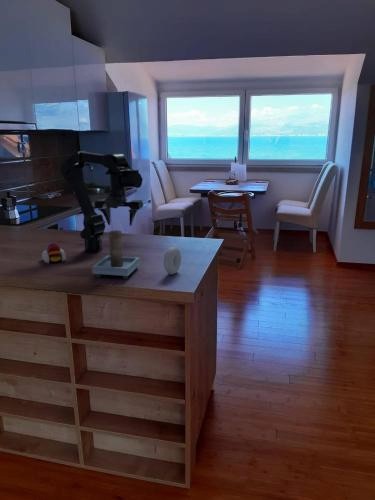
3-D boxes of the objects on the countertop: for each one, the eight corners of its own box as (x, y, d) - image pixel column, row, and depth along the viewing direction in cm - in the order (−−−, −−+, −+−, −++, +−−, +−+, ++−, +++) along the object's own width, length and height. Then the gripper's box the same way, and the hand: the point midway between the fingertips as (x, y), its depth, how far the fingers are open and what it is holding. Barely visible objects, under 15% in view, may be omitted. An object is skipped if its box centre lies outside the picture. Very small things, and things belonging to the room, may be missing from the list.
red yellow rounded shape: (45, 265, 149) (43, 247, 147) (41, 259, 157) (39, 241, 155) (67, 262, 153) (66, 244, 151) (63, 256, 161) (61, 239, 159)
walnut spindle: (108, 265, 139) (106, 232, 136) (117, 262, 143) (115, 229, 139) (116, 268, 137) (114, 234, 133) (125, 265, 140) (123, 231, 136)
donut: (174, 268, 144) (174, 243, 141) (182, 270, 143) (182, 244, 140) (162, 277, 136) (161, 250, 133) (170, 278, 134) (170, 251, 131)
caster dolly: (93, 277, 136) (92, 266, 134) (107, 266, 148) (107, 255, 147) (128, 280, 133) (127, 268, 132) (140, 268, 145) (139, 257, 144)
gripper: (86, 188, 146) (89, 228, 151) (133, 189, 143) (135, 230, 147) (98, 185, 157) (101, 222, 161) (142, 186, 153) (144, 224, 158)
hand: (120, 225), depth 157 cm, fingers open, 9 cm apart
